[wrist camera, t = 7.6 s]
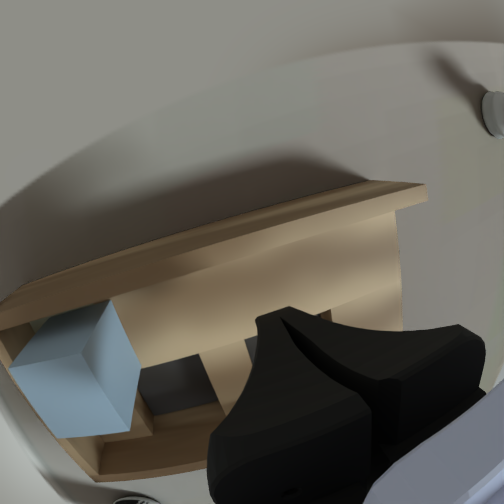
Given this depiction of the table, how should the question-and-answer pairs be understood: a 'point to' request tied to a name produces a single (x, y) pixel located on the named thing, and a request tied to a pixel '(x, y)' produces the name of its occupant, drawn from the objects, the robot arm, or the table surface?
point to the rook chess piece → (494, 113)
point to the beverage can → (135, 500)
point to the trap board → (219, 311)
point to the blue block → (80, 373)
